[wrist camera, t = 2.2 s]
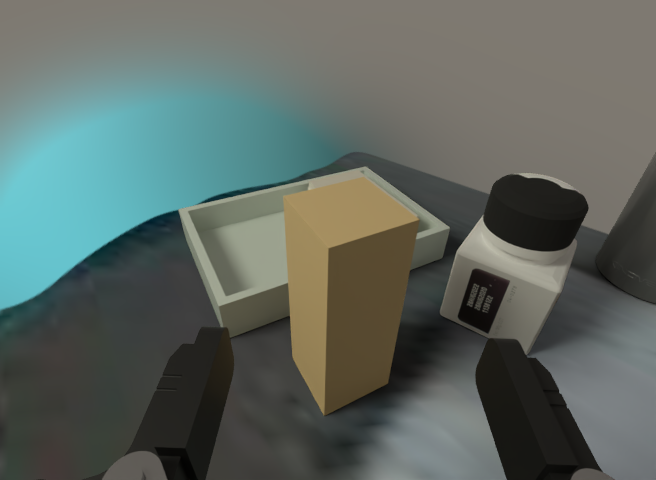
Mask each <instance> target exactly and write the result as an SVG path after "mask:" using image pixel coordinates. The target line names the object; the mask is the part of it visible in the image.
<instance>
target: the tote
mask: <svg viewBox="0 0 656 480" xmlns="http://www.w3.org/2000/svg"><path fill="white" fill-rule="evenodd" d="M355 170H359V171H360V172H361V173H363V174H364V175H365V176H367V177H368V178H369V179H371V180H372V181H373V182H375V183H376V184H377V185H379V186H380V187H381V188H383V189H384V190H385V191H387V192H388V193H389V194H390V195H392V196H393V197H394V198H396V199H397V200H398V201H400V202H401V203H402V204H404V205H405V206H406V207H408V208H409V209H410V210H412V211H413V212H414V213H416V214H417V215H418V216H419V218H418V219H420V221H419V226H418V231H417V236H416V242H415V247H414V252H413V257H412V262H411V267H410V270H412V269H415V268H417V267H420V266H423V265H425V264H428V263H431V262H433V261H436V260H439V259H441V258H443V254H444V250H445V246H446V242H447V239H448V235H449V231H450V227H448V226H447V225H446V224H444V223H443V222H441V221H440V220H439V219H437V218H436V217H434V216H433V215H432V214H430V213H429V212H428V211H426V210H425V209H423V208H422V207H421V206H419V205H418V204H417V203H415V202H414V201H412V200H411V199H410V198H408V197H407V196H406V195H404V194H403V193H401V192H400V191H399V190H397V189H396V188H395V187H393V186H392V185H390V184H389V183H388V182H386V181H385V180H384V179H382V178H381V177H379V176H378V175H377V174H375V173H374V172H373V171H371V170H370V169H368V168H367V167H362V168H357V169H353V170H349V171H344V172H340V173H335V174H331V175H327V176H322V177H318V178H314V179H309V180H305V181H300V182H296V183H292V184H287V185H283V186H279V187H274V188H270V189H265V190H261V191H257V192H252V193H248V194H243V195H239V196H235V197H230V198H226V199H222V200H217V201H213V202H208V203H204V204H200V205H195V206H191V207H187V208H182V209H179V213H180V217H181V221H182V225H183V229H184V233H185V237H186V240H187V243H188V245H189V248H190V250H191V253H192V255H193V258H194V260H195V263H196V265H197V268H198V271H199V273H200V276H201V278H202V281H203V283H204V286H205V288H206V291H207V293H208V296H209V298H210V301H211V303H212V306H213V308H214V311H215V313H216V316H217V318H218V321H219V323H220V326H221V327H227V328H228V330H229V335H230V338H231V337H234V336H237V335H239V334H242V333H245V332H247V331H250V330H253V329H255V328H258V327H260V326H263V325H266V324H268V323H271V322H274V321H276V320H279V319H282V318H284V317H287V316H290V305H289V288H288V271H287V254H286V237H285V220H284V203H283V196H286V195H290V194H294V193H298V192H302V191H307V190H308V187H309V181H312V180H316V179H320V178H325V177H329V176H334V175H338V174H342V173H347V172H351V171H355Z"/></svg>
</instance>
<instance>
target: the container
mask: <svg viewBox="0 0 656 480" xmlns="http://www.w3.org/2000/svg"><path fill="white" fill-rule="evenodd" d="M587 211H588V204H587V201H586V199H585V197H584V196H583V195H582V194H581V193H580V192H579V191H578V190H577V189H575V188H573V187H572V186H570V185H569V184H567V183H565V182H563V181H561V180H558V179H556V178H553V177H549V176H545V175H540V174H531V173H521V174H511V175H507V176H504V177H502V178H501V179H499V180H498V181H496V182H495V183H494V184H493V186H492V190H491V193H490V196H489V199H488V202H487V206H486V209H485V212H484V215H483V216H482V217H481V219H480V220H479V221H478V223H477V224H476V226H475V227H474V228H473V230H472V231H471V232H470V234H469V235H468V236H467V238H466V239H465V240H464V242H463V243H462V244H461V246H460V247H459V249H458V250H457V252H456V256H455V259H454V263H453V266H452V270H451V274H450V277H449V281H448V284H447V288H446V291H445V295H444V298H443V302H442V306H441V309H440V314H441V315H442V316H443V317H445V318H447V319H449V320H452V321H454V322H456V323H458V324H460V325H462V326H464V327H466V328H468V329H470V330H472V331H475V332H477V333H479V334H481V335H483V336H485V337H487V338H489V339H490V338H504V339H516V340H518V341H519V343H520V344H521V346H522V348H523V350H524V352H525V354H526V355H527V354H528V353H529V352H530V350H531V348H532V346H533V345H534V343H535V341H536V339H537V337H538V335H539V333H540V332H541V330H542V328H543V326H544V324H545V322H546V320H547V318H548V317H549V315H550V313H551V311H552V309H553V307H554V305H555V303H556V302H557V300H558V298H559V296H560V294H561V292H562V290H563V286H564V283H565V280H566V277H567V274H568V271H569V268H570V265H571V262H572V258H573V255H574V252H575V249H576V246H577V241H576V240H575V239H574V238H575V236H576V234H577V232H578V230H579V228H580V226H581V224H582V222H583V220H584V218H585V216H586V214H587Z"/></svg>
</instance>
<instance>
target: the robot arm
mask: <svg viewBox="0 0 656 480" xmlns="http://www.w3.org/2000/svg"><path fill="white" fill-rule="evenodd" d="M596 265H597V266H598V268H599V270H600V272H601V273H602V274H603V275H604V276H605V277H606V278H607V279H608V280H609V281H610V282H611V283H613V284H614V285H616V286H617V287H619V288H620V289H622V290H624V291H626V292H627V293H629V294H631V295H633V296H636V297H638V298H640V299H643V300H646V301H649V302H652V303H655V304H656V153H655V155H654V156H653V158H652V160H651V162H650V163H649V165H648V167H647V169H646V170H645V172H644V174H643V176H642V178H641V179H640V181H639V183H638V184H637V186H636V188H635V190H634V192H633V193H632V195H631V197H630V198H629V200H628V202H627V204H626V206H625V207H624V209H623V211H622V213H621V214H620V216H619V218H618V220H617V221H616V223H615V225H614V226H613V228H612V230H611V232H610V233H609V235H608V237H607V239H606V240H605V242H604V244H603V246H602V247H601V249H600V251H599V253H598V255H597V257H596ZM233 370H234V356H233V351H232V346H231V340H230V335H229V330H228V328H227V327H205V326H203V327H202V328H201V329H200V331H199V333H198V336H197V338H196V341H195V343H194V344H182V345H181V346H180V347H179V349H178V350H177V351H176V352H175V353H174V354H173V355H172V356H171V357H170V359H169V361H168V363H167V365H166V368H165V370H164V372H163V377H162V378H161V379H160V381H159V384H158V386H157V390H156V391H155V393H154V395H153V397H152V400H151V402H150V404H149V407H148V409H147V411H146V413H145V416H144V418H143V420H142V423H141V425H140V427H139V429H138V432H137V434H136V436H135V439H134V441H133V443H132V445H131V447H130V448H129V450H128V451H127V453H126V454H125V455H124V456H123V457H122V458H121V459H119V460H118V461H117V462H115V463H114V464H113V465H112V466H111V467H110V468H109V469H108V470H106V471H105V472H103V473H101V474H98V475H96V476H93V477H90V478H86V479H83V480H205V479H206V475H207V472H208V468H209V464H210V460H211V456H212V453H213V449H214V445H215V441H216V437H217V434H218V430H219V426H220V422H221V418H222V415H223V411H224V407H225V403H226V400H227V396H228V392H229V388H230V384H231V381H232V377H233ZM476 385H477V389H478V392H479V395H480V399H481V402H482V405H483V408H484V411H485V414H486V417H487V420H488V423H489V426H490V429H491V432H492V435H493V438H494V441H495V445H496V448H497V451H498V454H499V457H500V460H501V463H502V466H503V469H504V472H505V475H506V478H507V480H615V479H613V478H612V477H610V476H609V475H607V474H605V473H603V471H602V470H601V469H600V467H599V466H598V464H597V462H596V460H595V458H594V456H593V455H592V453H591V451H590V449H589V447H588V445H587V443H586V441H585V439H584V437H583V435H582V433H581V431H580V430H579V428H578V426H577V424H576V422H575V420H574V418H573V416H572V414H571V412H570V410H569V409H567V406H566V405H567V404H566V403H565V401H564V399H563V397H562V395H561V394H560V393H559V389H558V387H557V385H556V383H555V381H554V379H553V377H552V376H551V374H550V372H549V371H548V370H547V369H546V368H545V367H544V366H543V365H542V364H541V363H540V362H539V361H538V360H537V359H536V358H527V356H526V354H525V352H524V350H523V348H522V346H521V344H520V343H519V341H518V340H516V339H504V338H490V339H488V341H487V343H486V346H485V348H484V351H483V353H482V355H481V358H480V360H479V363H478V365H477V368H476ZM38 480H44V479H38Z"/></svg>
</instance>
